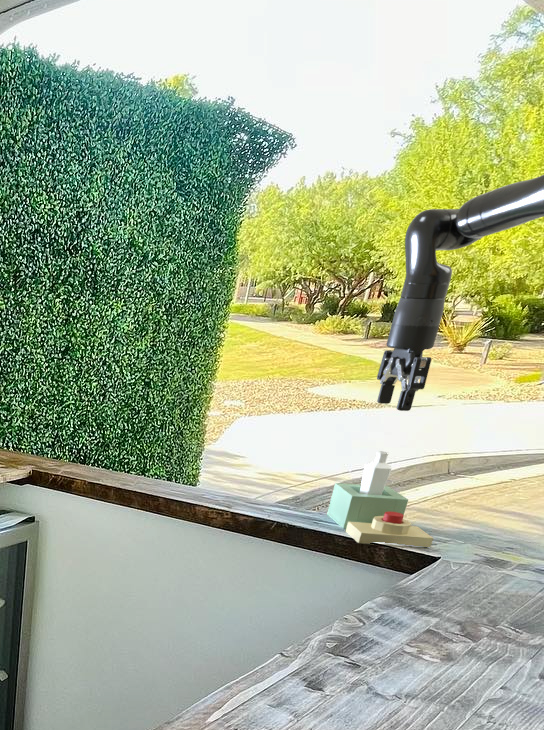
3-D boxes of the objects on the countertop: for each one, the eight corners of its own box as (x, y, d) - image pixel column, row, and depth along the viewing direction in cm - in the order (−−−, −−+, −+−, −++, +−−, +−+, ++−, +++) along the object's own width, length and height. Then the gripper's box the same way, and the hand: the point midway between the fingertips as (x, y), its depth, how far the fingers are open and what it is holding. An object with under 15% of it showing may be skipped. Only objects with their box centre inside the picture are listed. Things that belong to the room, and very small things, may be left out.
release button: (397, 520, 148) (400, 512, 147) (403, 525, 145) (406, 516, 145) (379, 519, 149) (382, 510, 148) (386, 524, 146) (388, 515, 145)
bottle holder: (378, 518, 161) (388, 486, 158) (398, 533, 152) (408, 499, 149) (326, 514, 163) (335, 482, 160) (343, 529, 154) (352, 496, 152)
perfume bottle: (348, 518, 160) (368, 448, 155) (373, 522, 158) (394, 451, 153) (349, 524, 157) (369, 453, 151) (374, 528, 155) (396, 456, 149)
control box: (413, 536, 150) (419, 517, 149) (430, 549, 144) (436, 529, 142) (345, 531, 153) (350, 512, 151) (358, 543, 147) (363, 523, 145)
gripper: (457, 325, 141) (431, 413, 147) (419, 320, 154) (397, 401, 160) (411, 325, 142) (388, 412, 148) (377, 320, 155) (357, 400, 161)
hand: (392, 406), depth 154 cm, fingers open, 8 cm apart
